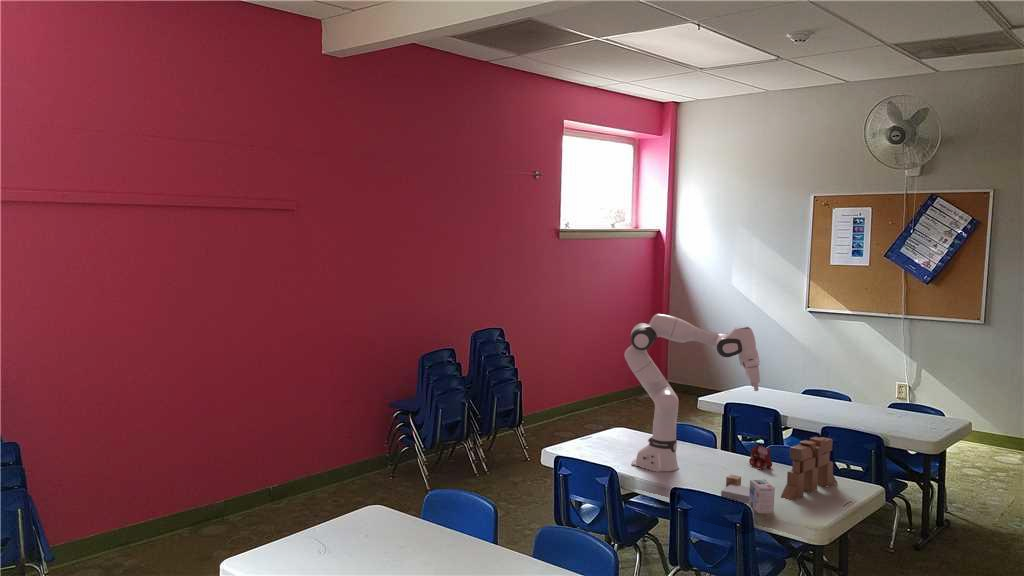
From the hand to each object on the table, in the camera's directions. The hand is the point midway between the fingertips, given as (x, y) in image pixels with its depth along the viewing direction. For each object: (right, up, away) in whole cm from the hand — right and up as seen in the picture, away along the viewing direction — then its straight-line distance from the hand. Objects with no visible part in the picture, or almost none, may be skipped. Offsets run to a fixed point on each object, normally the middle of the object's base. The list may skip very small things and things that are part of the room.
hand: (755, 388), depth 368 cm
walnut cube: (-15, -42, -16) cm, 48 cm away
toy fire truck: (+8, -41, +17) cm, 45 cm away
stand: (-15, -43, -27) cm, 53 cm away
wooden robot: (+19, -43, -18) cm, 50 cm away
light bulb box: (-11, -44, -44) cm, 63 cm away
